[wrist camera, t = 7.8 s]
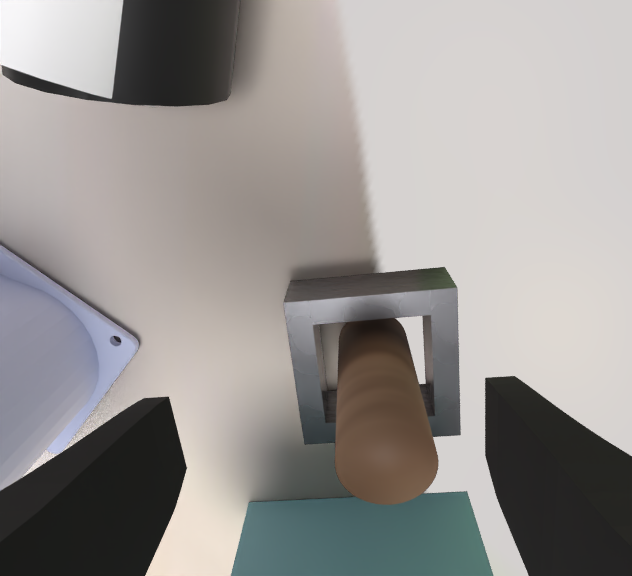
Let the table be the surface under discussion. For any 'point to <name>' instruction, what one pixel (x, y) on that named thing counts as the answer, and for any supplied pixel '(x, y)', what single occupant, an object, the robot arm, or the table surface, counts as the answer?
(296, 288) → the gray socket
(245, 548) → the teal block
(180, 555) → the table surface
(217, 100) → the security camera
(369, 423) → the walnut peg
